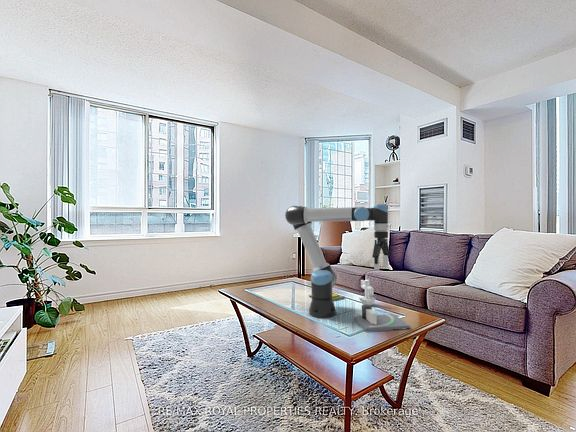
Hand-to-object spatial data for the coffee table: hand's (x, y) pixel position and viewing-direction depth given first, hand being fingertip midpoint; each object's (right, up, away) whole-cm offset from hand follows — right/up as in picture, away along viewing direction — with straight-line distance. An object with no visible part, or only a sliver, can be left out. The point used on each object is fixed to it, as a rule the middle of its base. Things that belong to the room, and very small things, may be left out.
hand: (381, 268), depth 173 cm
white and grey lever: (-12, -22, -22) cm, 34 cm away
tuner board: (-7, -24, -22) cm, 33 cm away
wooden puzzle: (-28, -26, +31) cm, 49 cm away
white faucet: (-5, -25, +12) cm, 28 cm away
